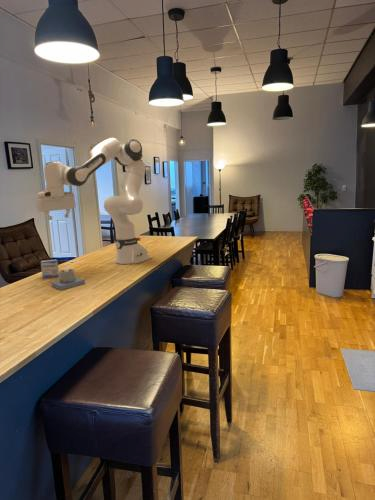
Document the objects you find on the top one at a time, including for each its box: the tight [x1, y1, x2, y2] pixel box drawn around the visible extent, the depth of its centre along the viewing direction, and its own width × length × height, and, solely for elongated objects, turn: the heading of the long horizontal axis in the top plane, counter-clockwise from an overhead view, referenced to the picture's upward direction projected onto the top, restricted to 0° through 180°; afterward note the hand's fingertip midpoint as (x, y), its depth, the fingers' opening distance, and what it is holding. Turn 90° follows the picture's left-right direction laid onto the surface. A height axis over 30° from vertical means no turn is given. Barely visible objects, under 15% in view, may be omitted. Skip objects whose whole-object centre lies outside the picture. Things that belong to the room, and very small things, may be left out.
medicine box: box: [40, 258, 60, 279], centre depth 183 cm, size 8×4×9 cm, turn 105°
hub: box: [59, 268, 76, 283], centre depth 167 cm, size 6×6×5 cm
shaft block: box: [50, 268, 86, 291], centre depth 167 cm, size 12×10×8 cm
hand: (58, 218), depth 187 cm, fingers open, 8 cm apart
